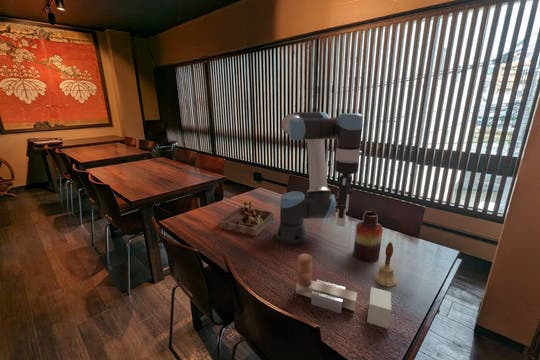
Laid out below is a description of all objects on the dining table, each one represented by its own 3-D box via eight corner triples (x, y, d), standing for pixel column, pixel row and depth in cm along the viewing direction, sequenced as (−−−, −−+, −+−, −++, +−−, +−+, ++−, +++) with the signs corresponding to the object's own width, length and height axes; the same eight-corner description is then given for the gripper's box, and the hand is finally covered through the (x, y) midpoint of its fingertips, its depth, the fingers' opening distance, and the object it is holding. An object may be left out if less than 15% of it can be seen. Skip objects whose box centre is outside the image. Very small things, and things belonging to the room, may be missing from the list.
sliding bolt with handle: (295, 293, 89) (296, 259, 85) (299, 285, 93) (300, 252, 89) (354, 311, 81) (358, 275, 77) (356, 301, 86) (360, 266, 81)
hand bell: (369, 273, 101) (374, 238, 97) (389, 271, 102) (395, 237, 97) (380, 287, 93) (385, 250, 89) (401, 286, 94) (408, 249, 89)
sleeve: (311, 304, 86) (311, 293, 85) (316, 290, 92) (317, 279, 91) (341, 313, 82) (342, 302, 81) (344, 298, 89) (345, 287, 87)
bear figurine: (234, 228, 138) (233, 208, 135) (242, 217, 152) (241, 198, 149) (259, 230, 136) (258, 210, 132) (264, 218, 150) (264, 199, 146)
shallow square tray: (219, 228, 139) (219, 221, 137) (240, 211, 159) (240, 206, 157) (256, 236, 130) (256, 229, 128) (274, 218, 150) (274, 212, 148)
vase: (366, 265, 106) (372, 221, 100) (348, 252, 115) (352, 211, 109) (384, 258, 111) (390, 216, 105) (365, 246, 120) (369, 207, 114)
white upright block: (367, 322, 79) (369, 303, 77) (368, 304, 86) (371, 286, 84) (388, 329, 76) (391, 310, 74) (388, 310, 83) (390, 292, 81)
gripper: (357, 170, 73) (350, 235, 79) (360, 154, 95) (355, 206, 102) (330, 168, 76) (326, 231, 82) (339, 153, 98) (336, 203, 104)
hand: (342, 217), depth 92 cm, fingers open, 13 cm apart
